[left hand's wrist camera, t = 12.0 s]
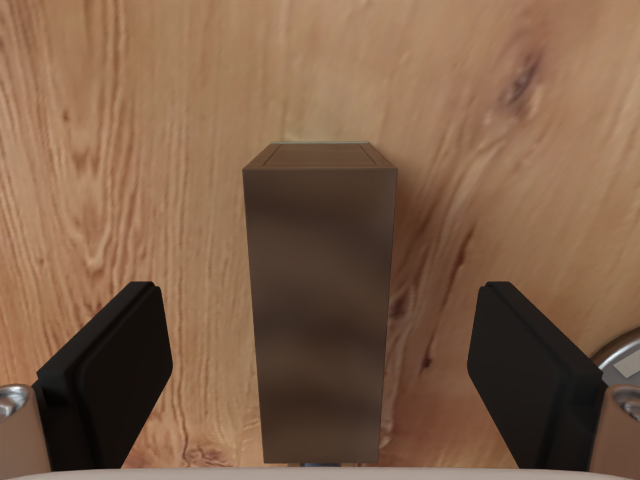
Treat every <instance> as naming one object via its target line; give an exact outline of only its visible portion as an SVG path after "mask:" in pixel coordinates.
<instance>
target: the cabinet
mask: <svg viewBox="0 0 640 480" xmlns="http://www.w3.org/2000/svg"><path fill="white" fill-rule="evenodd" d="M242 172H243V186H244V199H245V213H246V227H247V240H248V254H249V268H250V281H251V295H252V308H253V322H254V336H255V349H256V363H257V376H258V390H259V404H260V417H261V431H262V445H263V458H264V463H378V453H379V438H380V423H381V408H382V393H383V378H384V363H385V348H386V333H387V318H388V304H389V289H390V274H391V259H392V244H393V229H394V214H395V199H396V184H397V168H396V167H395V166H394V165H393V164H392V163H390V162H389V161H388V160H387V159H386V158H385V157H384V156H383V155H382V154H381V153H379V152H378V151H377V150H376V149H375V148H374V147H373V146H372V145H371V144H370V143H369V142H271V143H270V145H269V146H267V147H266V148H265V149H264V150H263V151H262V152H261V153H260V154H259V155H258V156H256V157H255V158H254V159H253V160H252V161H251V162H250V163H249V164H248V165H247V166H245V167H244V168H243V169H242Z"/></svg>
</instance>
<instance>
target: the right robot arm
mask: <svg viewBox="0 0 640 480" xmlns="http://www.w3.org/2000/svg"><path fill="white" fill-rule="evenodd" d="M590 360H591V361H592V362H593V363H594V364H595V365H597V366H598V367H599V368H600V369H601V370H602V371H603V372H604V373H603V376H602V380H603V381H604V382H605V383H606V384H607V385H608V386H612V385H614V384H631V385H637V386H640V328H637V329H635V330H632V331H630V332H628V333H626V334H624V335H622V336H620V337H618V338H617V339H615V340H613V341H612V342H610V343H609V344H607V345H606V346H605V347H603V348H602V349H601V350H600V351H598V352H597V353H596V354H595V355H594V356H593V357H592V358H591V359H590Z"/></svg>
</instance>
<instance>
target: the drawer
mask: <svg viewBox="0 0 640 480" xmlns="http://www.w3.org/2000/svg"><path fill="white" fill-rule="evenodd" d="M287 467H354V463H288V466H287Z"/></svg>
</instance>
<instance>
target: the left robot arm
mask: <svg viewBox="0 0 640 480" xmlns="http://www.w3.org/2000/svg"><path fill="white" fill-rule="evenodd" d="M172 369H173V361H172V355H171V349H170V343H169V336H168V330H167V324H166V318H165V311H164V305H163V299H162V293H161V289H160V287H158V286H155V285H154V283H153V282H130V283H129V284H128V285H127V286H126V287H125V288H123V289H122V290H121V291H120V292H119V293H118V294H117V295H116V296H115V297H114V298H113V299H112V300H111V301H110V302H109V303H108V304H107V305H106V306H105V307H104V308H103V309H102V310H101V311H100V312H99V313H98V314H96V315H95V316H94V317H93V318H92V319H91V320H90V321H89V322H88V323H87V324H86V325H85V326H84V327H83V328H82V329H81V330H80V331H79V332H78V333H77V334H76V335H75V336H74V337H73V338H72V339H71V340H69V341H68V342H67V343H66V344H65V345H64V346H63V347H62V348H61V349H60V350H59V351H58V352H57V353H56V354H55V355H54V356H53V357H52V358H51V359H50V360H49V361H48V362H47V363H46V364H45V365H43V366H42V367H41V368H40V369H39V370H38V371H37V372H36V373H37V376H38V380H37V381H36V382H35V383H34V384H33V385H32V386H28V385H26V384H9V385H3V386H0V480H640V386H637V385H631V384H614V385H612V386H608V385H607V384H606V383H605V382H604V381H603V380H602V376H603V373H604V372H603V371H602V370H601V369H600V368H599V367H598V366H597V365H595V364H594V363H593V362H592V361H591V360H590V359H589V358H588V357H587V356H586V355H585V354H584V353H583V352H582V351H581V350H580V349H579V348H578V347H577V346H576V345H575V344H574V343H573V342H572V341H571V340H569V339H568V338H567V337H566V336H565V335H564V334H563V333H562V332H561V331H560V330H559V329H558V328H557V327H556V326H555V325H554V324H553V323H552V322H551V321H550V320H549V319H548V318H547V317H546V316H545V315H544V314H542V313H541V312H540V311H539V310H538V309H537V308H536V307H535V306H534V305H533V304H532V303H531V302H530V301H529V300H528V299H527V298H526V297H525V296H524V295H523V294H522V293H521V292H520V291H519V290H518V289H517V288H515V287H514V286H513V285H512V284H511V283H510V282H487V283H486V285H485V286H482V287H480V289H479V293H478V299H477V305H476V311H475V318H474V324H473V330H472V336H471V343H470V349H469V355H468V361H467V369H468V373H469V376H470V378H471V380H472V382H473V383H474V385H475V387H476V389H477V391H478V393H479V395H480V396H481V398H482V400H483V402H484V404H485V406H486V408H487V409H488V411H489V413H490V415H491V417H492V419H493V420H494V422H495V424H496V426H497V428H498V430H499V432H500V433H501V435H502V437H503V439H504V441H505V443H506V445H507V446H508V448H509V450H510V452H511V454H512V456H513V458H514V459H515V461H516V463H517V465H518V467H519V469H498V468H449V467H191V468H142V469H121V467H122V465H123V463H124V461H125V459H126V458H127V456H128V454H129V452H130V450H131V448H132V446H133V445H134V443H135V441H136V439H137V437H138V435H139V433H140V432H141V430H142V428H143V426H144V424H145V422H146V420H147V419H148V417H149V415H150V413H151V411H152V409H153V408H154V406H155V404H156V402H157V400H158V398H159V396H160V395H161V393H162V391H163V389H164V387H165V385H166V383H167V382H168V380H169V378H170V376H171V373H172Z"/></svg>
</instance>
